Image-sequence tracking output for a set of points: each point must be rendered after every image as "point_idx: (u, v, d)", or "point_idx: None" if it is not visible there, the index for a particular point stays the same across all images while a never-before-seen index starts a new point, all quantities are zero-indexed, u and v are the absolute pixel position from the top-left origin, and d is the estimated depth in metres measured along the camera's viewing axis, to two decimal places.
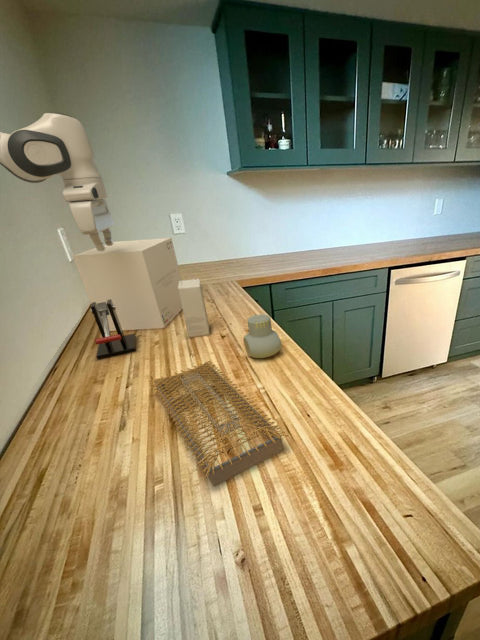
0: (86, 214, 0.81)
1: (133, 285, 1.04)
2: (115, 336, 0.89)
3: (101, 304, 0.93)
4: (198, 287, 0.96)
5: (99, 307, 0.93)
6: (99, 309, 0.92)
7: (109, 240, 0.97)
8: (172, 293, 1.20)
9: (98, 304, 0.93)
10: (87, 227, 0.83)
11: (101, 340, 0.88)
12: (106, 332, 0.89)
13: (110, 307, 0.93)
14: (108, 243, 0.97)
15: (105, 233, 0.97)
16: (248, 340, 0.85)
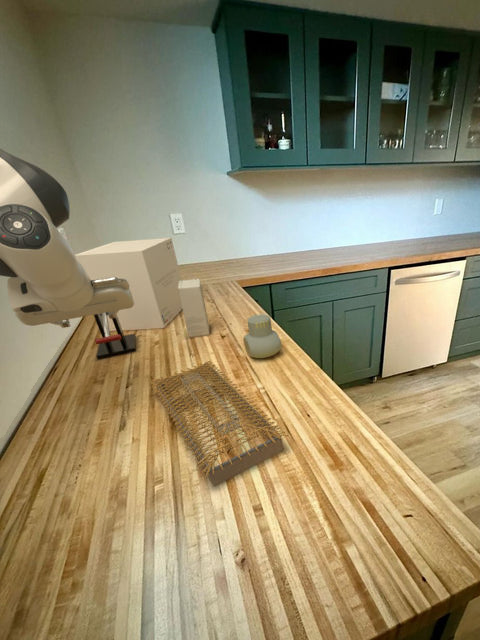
0: None
1: (133, 285, 1.04)
2: (115, 336, 0.89)
3: None
4: (198, 287, 0.96)
5: None
6: None
7: None
8: (172, 293, 1.20)
9: None
10: None
11: (101, 340, 0.88)
12: (106, 332, 0.89)
13: None
14: None
15: None
16: (248, 340, 0.85)
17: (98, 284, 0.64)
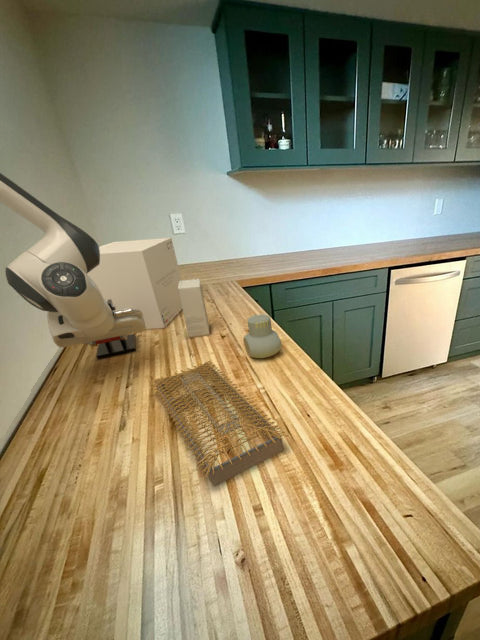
0: None
1: (133, 285, 1.04)
2: None
3: None
4: (198, 287, 0.96)
5: None
6: None
7: None
8: (172, 293, 1.20)
9: None
10: None
11: (101, 340, 0.88)
12: None
13: (110, 307, 0.93)
14: None
15: None
16: (248, 340, 0.85)
17: (118, 315, 0.79)
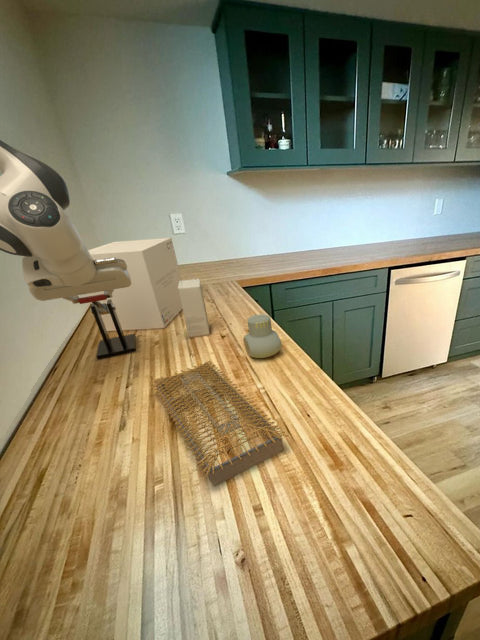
0: None
1: (133, 285, 1.04)
2: None
3: None
4: (198, 287, 0.96)
5: None
6: None
7: None
8: (172, 293, 1.20)
9: None
10: None
11: (84, 297, 0.83)
12: None
13: (110, 307, 0.93)
14: None
15: None
16: (248, 340, 0.85)
17: (100, 263, 0.73)
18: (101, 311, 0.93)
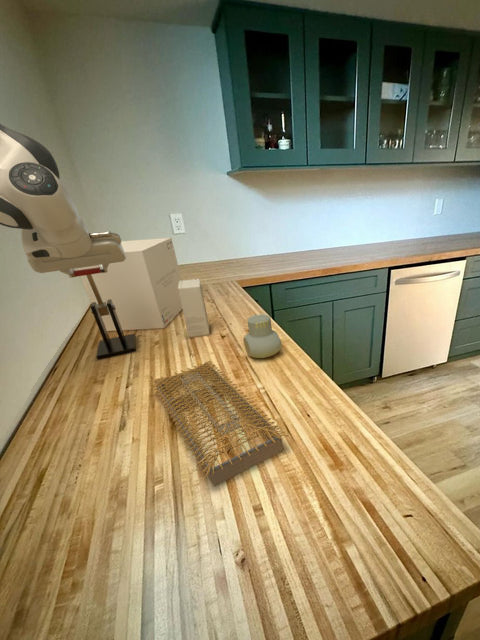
0: None
1: (133, 285, 1.04)
2: None
3: None
4: (198, 287, 0.96)
5: None
6: None
7: None
8: (172, 293, 1.20)
9: None
10: None
11: None
12: None
13: (110, 307, 0.93)
14: None
15: None
16: (248, 340, 0.85)
17: (95, 236, 0.77)
18: (99, 306, 0.92)
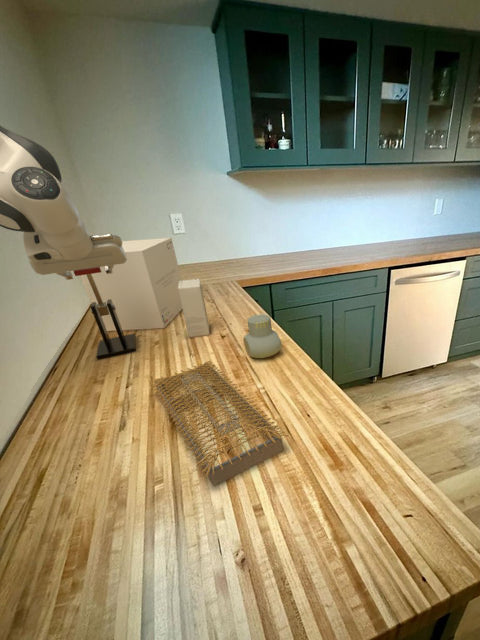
0: None
1: (133, 285, 1.04)
2: None
3: None
4: (198, 287, 0.96)
5: None
6: None
7: None
8: (172, 293, 1.20)
9: None
10: None
11: None
12: None
13: (110, 307, 0.93)
14: None
15: None
16: (248, 340, 0.85)
17: (96, 239, 0.78)
18: (99, 306, 0.92)
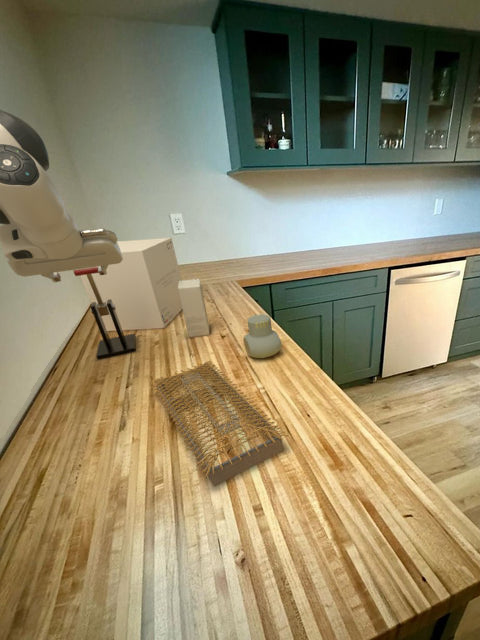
0: None
1: (133, 285, 1.04)
2: None
3: None
4: (198, 287, 0.96)
5: None
6: None
7: None
8: (172, 293, 1.20)
9: None
10: None
11: None
12: None
13: (110, 307, 0.93)
14: None
15: None
16: (248, 340, 0.85)
17: (87, 235, 0.67)
18: (99, 306, 0.92)
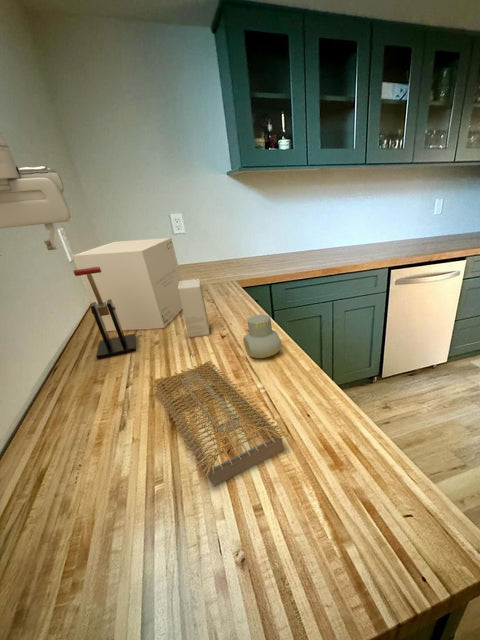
0: None
1: (133, 285, 1.04)
2: None
3: None
4: (198, 287, 0.96)
5: None
6: None
7: None
8: (172, 293, 1.20)
9: None
10: None
11: None
12: None
13: (110, 307, 0.93)
14: None
15: None
16: (248, 340, 0.85)
17: (24, 169, 0.59)
18: (99, 306, 0.92)
